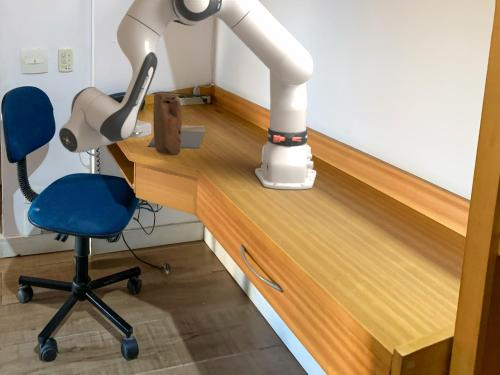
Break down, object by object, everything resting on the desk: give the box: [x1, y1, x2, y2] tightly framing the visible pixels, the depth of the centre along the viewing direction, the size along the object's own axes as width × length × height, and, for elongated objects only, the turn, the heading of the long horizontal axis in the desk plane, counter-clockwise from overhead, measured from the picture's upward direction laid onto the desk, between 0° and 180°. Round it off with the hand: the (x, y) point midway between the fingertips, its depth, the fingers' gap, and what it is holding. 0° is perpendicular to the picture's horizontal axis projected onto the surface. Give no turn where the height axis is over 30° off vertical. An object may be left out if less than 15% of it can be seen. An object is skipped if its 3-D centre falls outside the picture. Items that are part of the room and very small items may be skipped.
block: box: [153, 92, 183, 156], centre depth 203 cm, size 11×8×20 cm
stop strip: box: [181, 124, 206, 133], centre depth 235 cm, size 2×18×2 cm, turn 90°
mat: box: [147, 131, 205, 149], centre depth 222 cm, size 24×18×1 cm
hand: (136, 121), depth 188 cm, fingers closed
